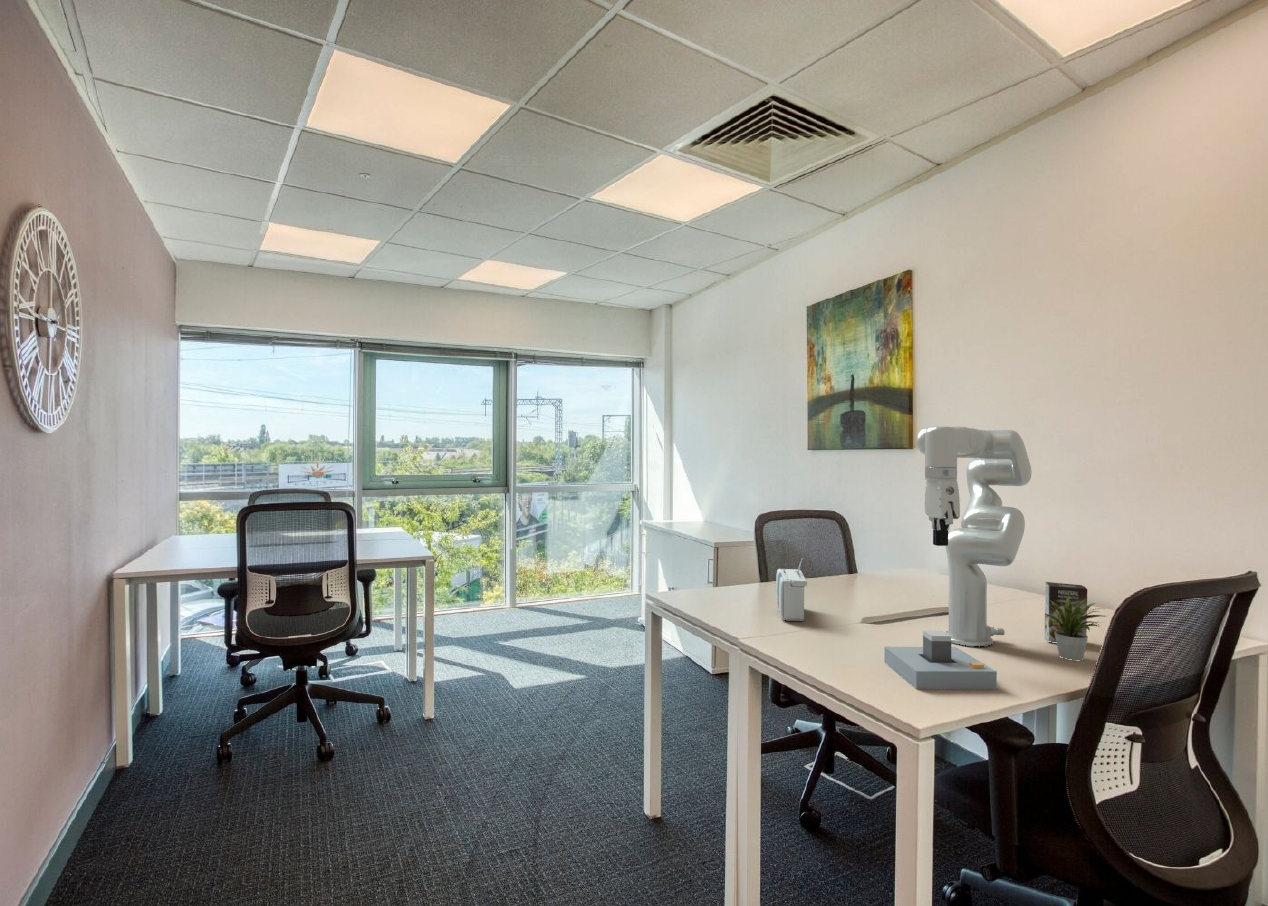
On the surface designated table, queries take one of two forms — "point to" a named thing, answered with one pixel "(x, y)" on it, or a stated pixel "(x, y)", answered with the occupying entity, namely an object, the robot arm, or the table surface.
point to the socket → (940, 670)
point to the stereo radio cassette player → (790, 593)
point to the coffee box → (1061, 594)
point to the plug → (936, 647)
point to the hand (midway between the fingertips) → (940, 545)
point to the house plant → (1072, 629)
